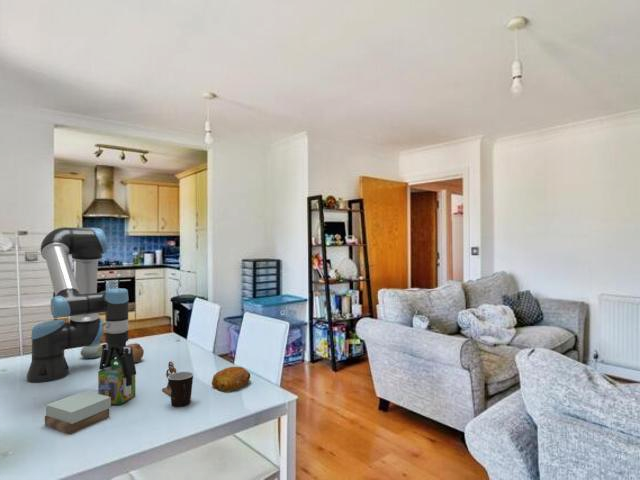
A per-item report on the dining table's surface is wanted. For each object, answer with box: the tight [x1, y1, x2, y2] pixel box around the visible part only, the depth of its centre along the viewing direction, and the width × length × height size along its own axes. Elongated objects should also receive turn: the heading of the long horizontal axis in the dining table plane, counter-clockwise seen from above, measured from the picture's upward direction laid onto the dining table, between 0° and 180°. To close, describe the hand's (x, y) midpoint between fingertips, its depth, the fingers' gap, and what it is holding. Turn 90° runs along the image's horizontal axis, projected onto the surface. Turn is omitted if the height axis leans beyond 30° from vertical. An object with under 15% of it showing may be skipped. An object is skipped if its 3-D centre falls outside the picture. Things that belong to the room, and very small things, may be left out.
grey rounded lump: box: [80, 341, 103, 359], centre depth 202 cm, size 11×8×10 cm
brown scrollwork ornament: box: [161, 360, 177, 397], centre depth 154 cm, size 9×4×12 cm, turn 43°
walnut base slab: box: [44, 408, 110, 435], centre depth 130 cm, size 13×13×4 cm
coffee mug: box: [167, 371, 194, 408], centre depth 142 cm, size 12×9×10 cm
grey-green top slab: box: [45, 390, 112, 424], centre depth 130 cm, size 13×13×4 cm
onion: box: [123, 342, 145, 364], centre depth 192 cm, size 10×9×10 cm
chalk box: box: [97, 357, 136, 405], centre depth 147 cm, size 9×9×15 cm
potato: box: [211, 366, 251, 393], centre depth 162 cm, size 14×16×8 cm
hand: (117, 391), depth 147 cm, fingers closed on chalk box, 10 cm apart
